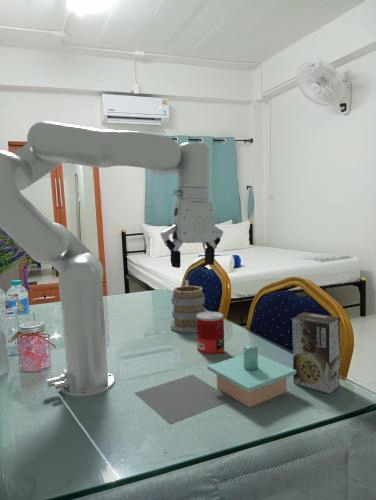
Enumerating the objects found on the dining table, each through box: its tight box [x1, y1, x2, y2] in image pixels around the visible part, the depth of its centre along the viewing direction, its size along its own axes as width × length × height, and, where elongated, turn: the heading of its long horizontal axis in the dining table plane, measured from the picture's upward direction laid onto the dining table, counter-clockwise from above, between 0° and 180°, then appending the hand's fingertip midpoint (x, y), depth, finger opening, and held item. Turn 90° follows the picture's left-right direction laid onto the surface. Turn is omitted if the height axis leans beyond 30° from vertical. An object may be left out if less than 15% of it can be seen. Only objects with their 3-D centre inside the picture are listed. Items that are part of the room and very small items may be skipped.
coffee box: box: [292, 311, 341, 394], centre depth 91 cm, size 9×6×16 cm
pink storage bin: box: [216, 374, 287, 409], centre depth 88 cm, size 11×11×5 cm
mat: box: [134, 374, 234, 425], centre depth 86 cm, size 16×16×1 cm
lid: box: [206, 343, 296, 392], centre depth 87 cm, size 14×14×6 cm
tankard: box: [170, 279, 207, 334], centre depth 141 cm, size 20×13×15 cm, turn 179°
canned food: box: [196, 311, 225, 355], centre depth 114 cm, size 8×8×11 cm
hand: (193, 265), depth 96 cm, fingers open, 9 cm apart
